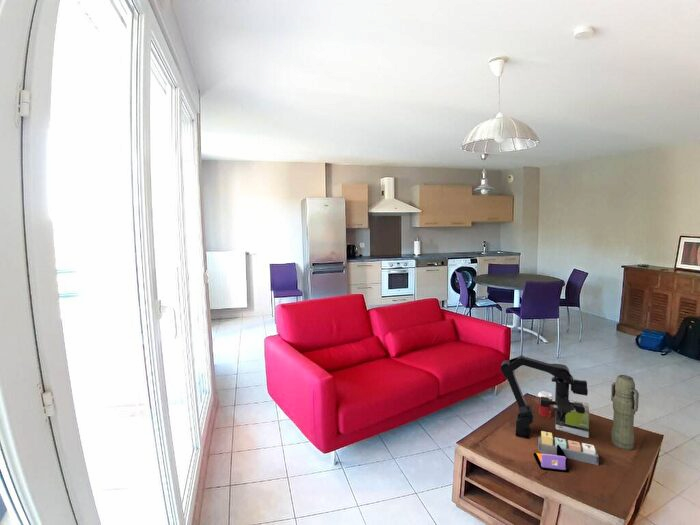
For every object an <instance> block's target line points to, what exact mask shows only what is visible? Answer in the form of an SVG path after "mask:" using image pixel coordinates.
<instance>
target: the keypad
mask: <svg viewBox="0 0 700 525" xmlns="http://www.w3.org/2000/svg"><path fill="white" fill-rule="evenodd" d="M537 439H538V444H537V445H538V453H539V452H540V453H542V454H552V455H557V447H555V446H554V439H553V445H552V446H551V445H546V444H542V443H541V436H540V435H539V436H538V438H537ZM580 447H581V452H578V451H574V450H569V449H568V441H566V449H565V448H561V449H562V450H563V452H564V454H565V455H566V457H567V460H569V459H570V460H574V461H576V462H577V461H578V462H582V463H587V464H592V465H595V466H599V461H600V460H599V458H600V456H599V454H598V452H597V449H596V448H595V447H594V448H595V455H592V454H588V453H583V452H582V444H580Z"/></svg>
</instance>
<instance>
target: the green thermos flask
mask: <svg viewBox="0 0 700 525" xmlns="http://www.w3.org/2000/svg"><path fill="white" fill-rule="evenodd" d="M610 396H611V397H610V398H611V399H610V401H612V409H613V420H612V421H613V422H612V428H611V434H610V437H611V444H612V445H613V446H615V447H617V448H619V449H622V450H626V451H627V450H628V451H631V450H633V449H634V444H635V434H634V433H635V432H634V421H635V420H634V419H635V415H636V412H638V410H639V409H638V408H639V396H640V394H639V391H638V390H637V389H636V383H635V380H634V378H633V377H632V376H629V375H626V374H620V375H617V377H616V379H615V382H612V383H611V395H610Z"/></svg>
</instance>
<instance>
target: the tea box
mask: <svg viewBox="0 0 700 525" xmlns="http://www.w3.org/2000/svg"><path fill="white" fill-rule="evenodd" d="M569 402H572V403H574V402H577V403H582V404H583V405H584V408H585V413H584V414H583V413H577V412H576V411H575V409H574V410H572V411H571V412H570V413H567V414H566V415H565V417H564V419H563V421H562V422H561V421H560V419H559V416H558V413H557V411H556V410H555V430H557V431H561V432H565V433H569V434H573V435H575V436H578V437H579V436H580V437H583V438H587V439H589V438H590V410H589V409H590V408H589V403H586V402H582V401H577V400H576V401H575V400H571V399H569ZM561 413H562V412H561Z"/></svg>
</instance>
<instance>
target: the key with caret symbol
mask: <svg viewBox="0 0 700 525" xmlns="http://www.w3.org/2000/svg"><path fill="white" fill-rule="evenodd" d="M553 440H554V446H555V447H557V445H559V446H560V447H561V448H565V449H566V442H567V441H566V438H560V437H556V436H554V438H553Z"/></svg>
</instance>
